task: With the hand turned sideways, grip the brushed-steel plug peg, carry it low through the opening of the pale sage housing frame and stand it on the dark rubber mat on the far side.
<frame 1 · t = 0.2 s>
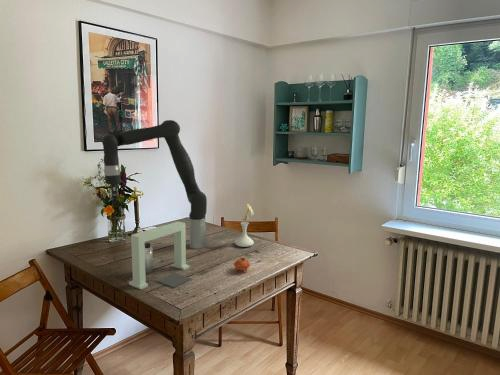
hand: (114, 204, 187), 29 cm above the table, tool pointing down, fingers open, 8 cm apart
rubber mat: (174, 280, 165), on the table
housing frame: (161, 275, 170), on the table
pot: (241, 270, 178), on the table
flower in vase: (244, 245, 216), on the table
plug peg: (148, 270, 175), on the table
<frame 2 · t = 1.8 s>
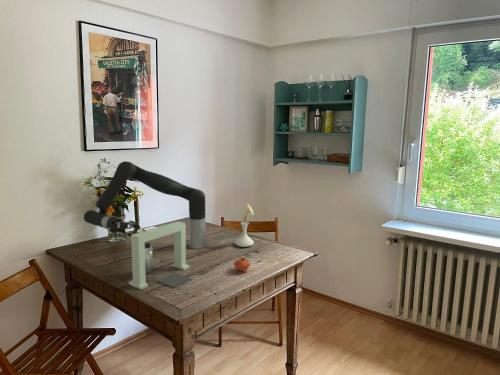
hand: (132, 229, 178), 19 cm above the table, tool horizontal, fingers open, 8 cm apart
nothing on the table moved.
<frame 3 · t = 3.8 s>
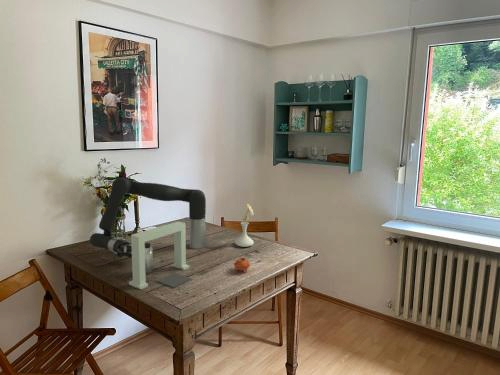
hand: (138, 253, 178), 7 cm above the table, tool horizontal, fingers open, 8 cm apart
nothing on the table moved.
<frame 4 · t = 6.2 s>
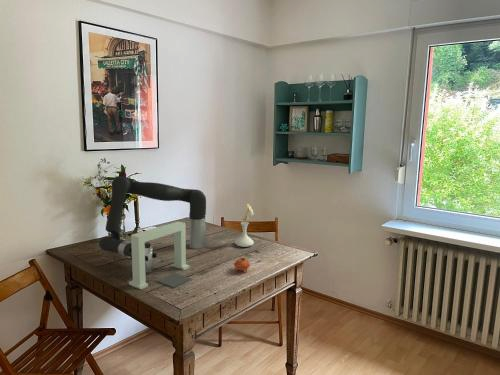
hand: (151, 257, 173), 8 cm above the table, tool horizontal, fingers closed on plug peg, 4 cm apart
plug peg: (148, 270, 175), on the table, touching gripper
everything else where it was.
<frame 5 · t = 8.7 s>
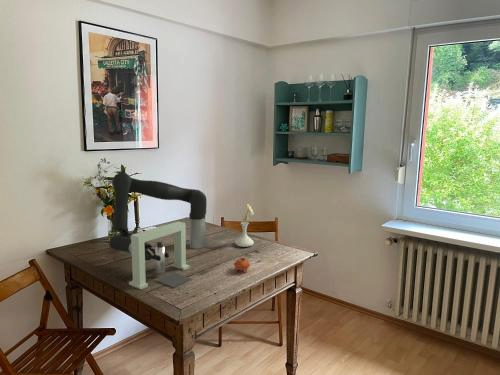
hand: (164, 257, 167), 10 cm above the table, tool horizontal, fingers closed on plug peg, 4 cm apart
plug peg: (160, 270, 170), point 2 cm above the table, touching gripper
everything else where it was.
when the fingers open (9 cm above the table, at t = 11.2 s): plug peg stays where it is, resting on rubber mat.
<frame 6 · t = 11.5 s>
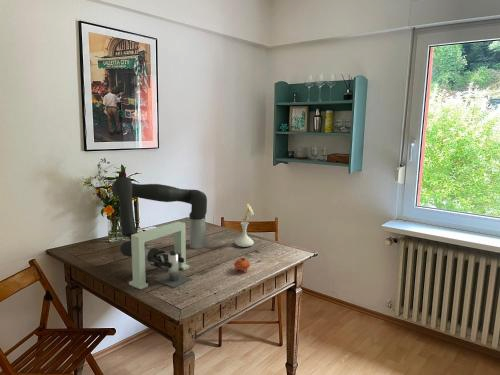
hand: (177, 263, 163), 9 cm above the table, tool horizontal, fingers open, 7 cm apart
plug peg: (174, 279, 165), point 1 cm above the table, touching rubber mat
everything else where it was.
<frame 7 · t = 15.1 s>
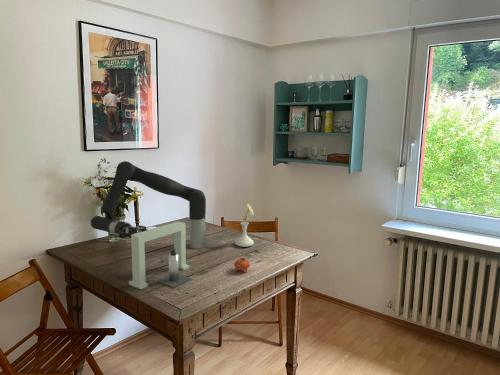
hand: (141, 234, 175), 18 cm above the table, tool horizontal, fingers open, 8 cm apart
nothing on the table moved.
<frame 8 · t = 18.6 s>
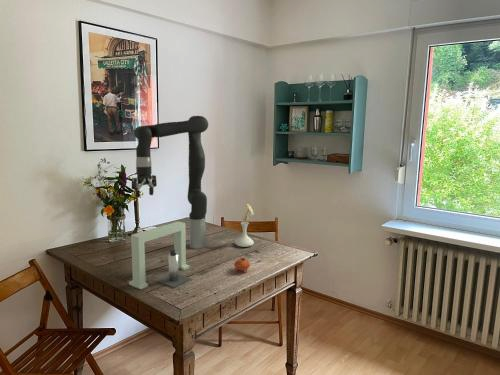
hand: (144, 196, 189), 33 cm above the table, tool pointing down, fingers open, 8 cm apart
nothing on the table moved.
at the end: plug peg inside the target area on the rubber mat (0.1 cm from its centre), point 0.6 cm above the rubber mat's base; plug peg tilted 2°; the gripper is holding nothing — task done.
